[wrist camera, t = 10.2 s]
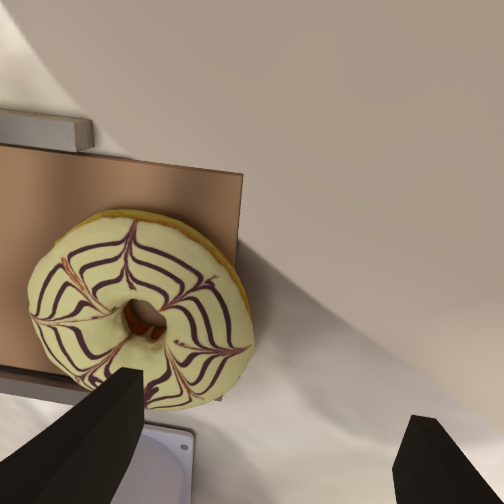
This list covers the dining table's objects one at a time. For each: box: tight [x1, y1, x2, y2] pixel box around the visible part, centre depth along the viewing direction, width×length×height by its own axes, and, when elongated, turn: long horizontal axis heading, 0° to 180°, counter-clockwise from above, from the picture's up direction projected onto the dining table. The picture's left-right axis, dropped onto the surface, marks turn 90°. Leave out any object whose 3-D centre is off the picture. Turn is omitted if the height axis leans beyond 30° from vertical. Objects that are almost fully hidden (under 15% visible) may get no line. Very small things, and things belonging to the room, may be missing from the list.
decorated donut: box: [27, 209, 256, 411], centre depth 19 cm, size 10×11×4 cm
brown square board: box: [0, 143, 243, 401], centre depth 18 cm, size 18×13×5 cm
